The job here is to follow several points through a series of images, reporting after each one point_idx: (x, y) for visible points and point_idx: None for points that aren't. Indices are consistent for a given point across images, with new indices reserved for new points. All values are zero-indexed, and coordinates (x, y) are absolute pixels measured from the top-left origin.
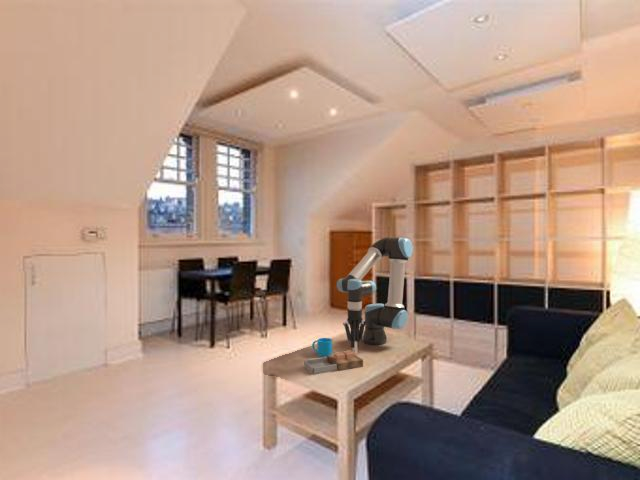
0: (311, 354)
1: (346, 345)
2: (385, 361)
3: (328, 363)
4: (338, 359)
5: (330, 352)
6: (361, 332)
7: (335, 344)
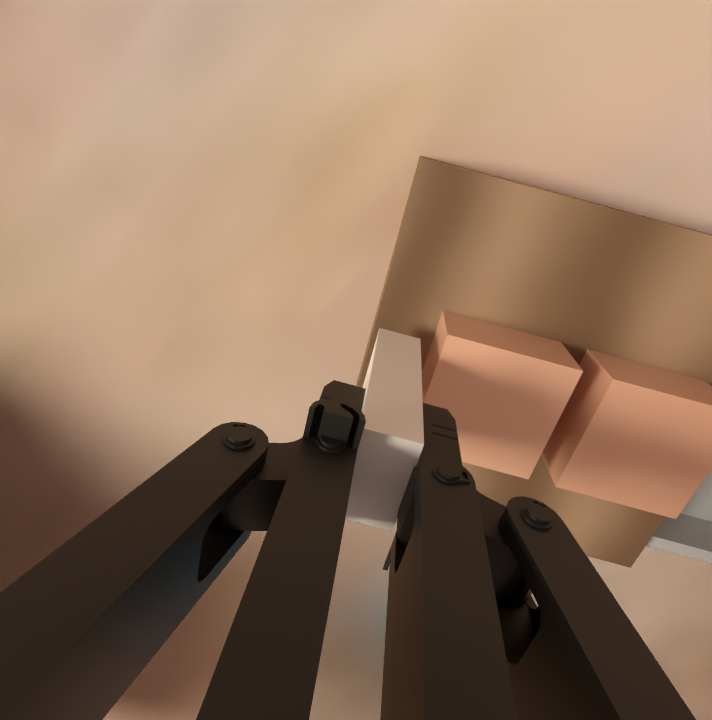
0: None
1: None
2: (65, 94)
3: None
4: (695, 380)
5: None
6: (144, 560)
7: None
